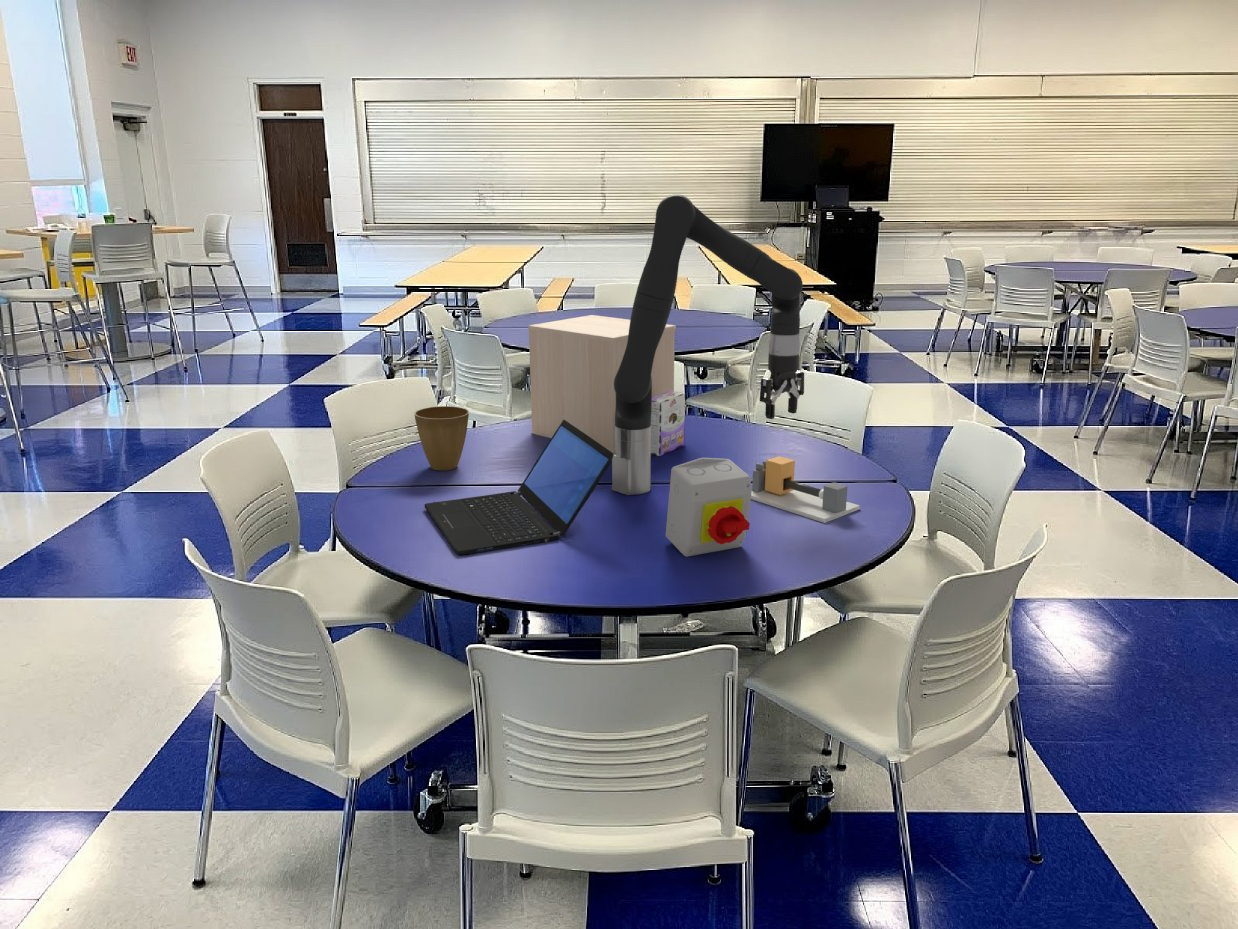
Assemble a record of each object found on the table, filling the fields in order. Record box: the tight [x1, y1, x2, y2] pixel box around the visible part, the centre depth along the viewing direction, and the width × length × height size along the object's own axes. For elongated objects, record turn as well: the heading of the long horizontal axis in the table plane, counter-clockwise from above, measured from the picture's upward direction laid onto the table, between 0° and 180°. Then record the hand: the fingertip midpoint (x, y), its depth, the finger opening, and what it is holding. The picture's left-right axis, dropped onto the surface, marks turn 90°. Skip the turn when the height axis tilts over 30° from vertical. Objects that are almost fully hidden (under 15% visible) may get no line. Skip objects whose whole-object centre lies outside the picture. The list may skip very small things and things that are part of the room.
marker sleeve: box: [765, 455, 796, 495], centre depth 239 cm, size 5×5×8 cm
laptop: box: [423, 420, 615, 556], centre depth 222 cm, size 33×38×19 cm
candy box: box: [651, 391, 686, 457], centre depth 279 cm, size 14×6×16 cm, turn 144°
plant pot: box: [413, 405, 470, 471], centre depth 263 cm, size 15×15×16 cm
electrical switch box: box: [665, 457, 752, 558], centre depth 203 cm, size 15×15×20 cm
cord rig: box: [751, 460, 861, 524], centre depth 234 cm, size 25×14×8 cm, turn 42°
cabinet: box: [527, 314, 677, 455], centre depth 294 cm, size 35×29×34 cm
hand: (781, 415), depth 236 cm, fingers open, 8 cm apart
